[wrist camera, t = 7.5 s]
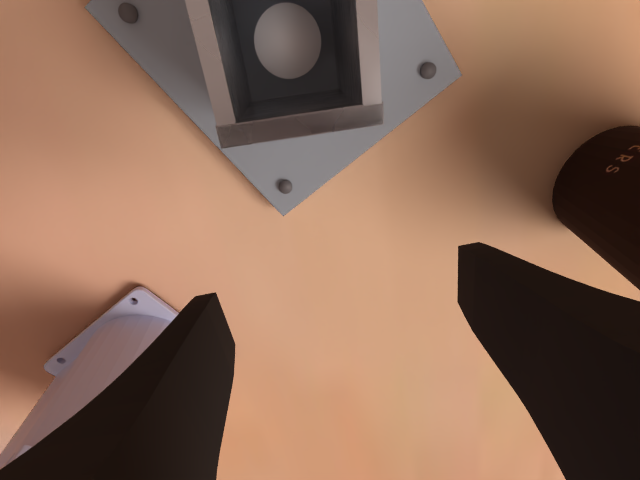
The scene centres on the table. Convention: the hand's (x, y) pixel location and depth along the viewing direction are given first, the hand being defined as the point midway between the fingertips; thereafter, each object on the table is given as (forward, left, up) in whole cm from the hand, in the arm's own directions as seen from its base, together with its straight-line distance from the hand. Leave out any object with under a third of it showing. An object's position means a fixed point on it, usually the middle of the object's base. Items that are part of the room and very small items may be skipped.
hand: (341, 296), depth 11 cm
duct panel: (+3, +6, -10) cm, 12 cm away
